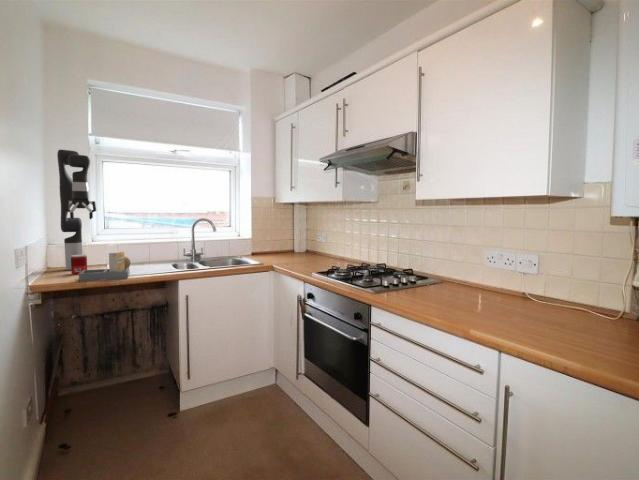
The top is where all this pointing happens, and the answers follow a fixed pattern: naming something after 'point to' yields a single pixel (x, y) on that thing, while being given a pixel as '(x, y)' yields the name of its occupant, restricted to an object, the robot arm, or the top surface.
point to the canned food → (78, 263)
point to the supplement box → (116, 262)
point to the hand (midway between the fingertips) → (81, 219)
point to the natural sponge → (126, 262)
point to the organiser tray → (102, 274)
